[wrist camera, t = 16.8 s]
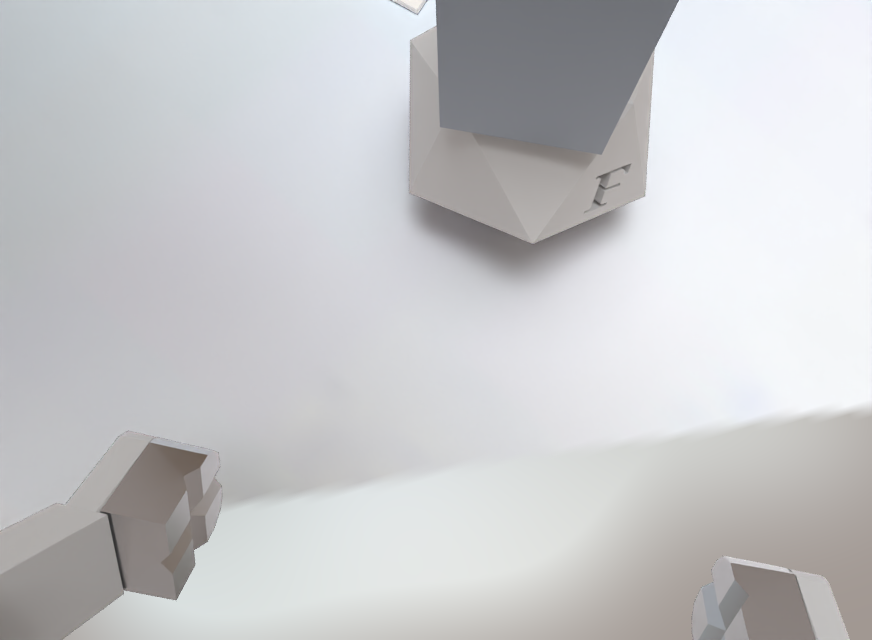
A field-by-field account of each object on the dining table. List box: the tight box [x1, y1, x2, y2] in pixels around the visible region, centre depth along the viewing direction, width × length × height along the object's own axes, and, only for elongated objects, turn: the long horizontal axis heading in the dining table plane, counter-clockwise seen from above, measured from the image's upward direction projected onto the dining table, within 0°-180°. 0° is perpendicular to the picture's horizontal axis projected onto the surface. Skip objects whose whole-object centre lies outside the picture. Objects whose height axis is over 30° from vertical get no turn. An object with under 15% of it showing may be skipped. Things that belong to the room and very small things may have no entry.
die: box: [409, 26, 654, 244], centre depth 24 cm, size 8×9×10 cm
